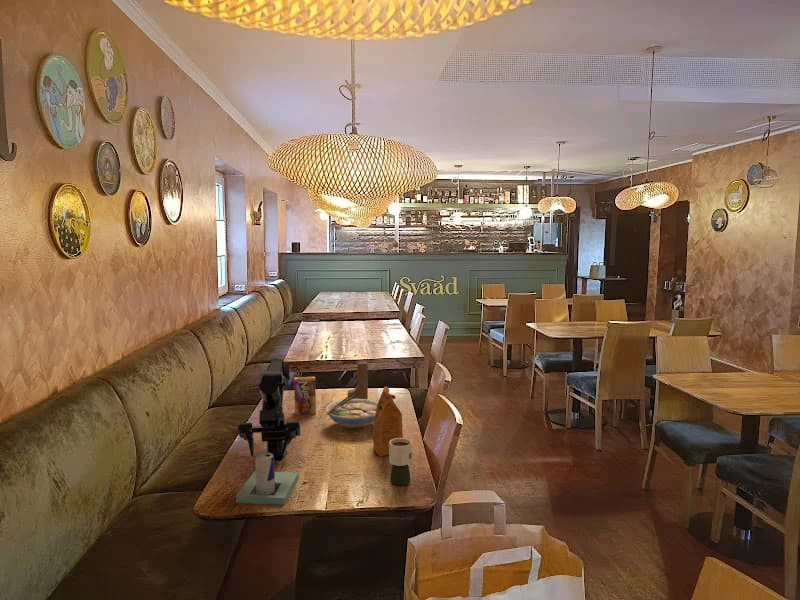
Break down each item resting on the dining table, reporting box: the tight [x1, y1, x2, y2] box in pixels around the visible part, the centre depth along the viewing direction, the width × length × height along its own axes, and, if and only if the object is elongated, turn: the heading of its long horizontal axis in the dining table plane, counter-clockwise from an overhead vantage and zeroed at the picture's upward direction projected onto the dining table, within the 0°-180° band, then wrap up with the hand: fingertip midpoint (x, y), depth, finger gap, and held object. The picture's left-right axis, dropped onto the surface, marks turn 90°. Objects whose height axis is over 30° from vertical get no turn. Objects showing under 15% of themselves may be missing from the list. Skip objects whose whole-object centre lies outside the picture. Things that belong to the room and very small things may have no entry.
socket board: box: [235, 470, 299, 505], centre depth 161 cm, size 16×14×2 cm
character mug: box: [388, 437, 413, 485], centre depth 166 cm, size 11×7×13 cm, turn 10°
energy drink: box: [254, 452, 276, 495], centre depth 158 cm, size 5×5×12 cm
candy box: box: [293, 376, 317, 416], centre depth 228 cm, size 9×4×15 cm, turn 99°
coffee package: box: [372, 385, 404, 457], centre depth 189 cm, size 10×12×22 cm
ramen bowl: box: [325, 394, 378, 430], centre depth 214 cm, size 25×23×8 cm
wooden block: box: [347, 361, 369, 400], centre depth 243 cm, size 9×4×18 cm, turn 96°
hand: (267, 456), depth 164 cm, fingers open, 9 cm apart
